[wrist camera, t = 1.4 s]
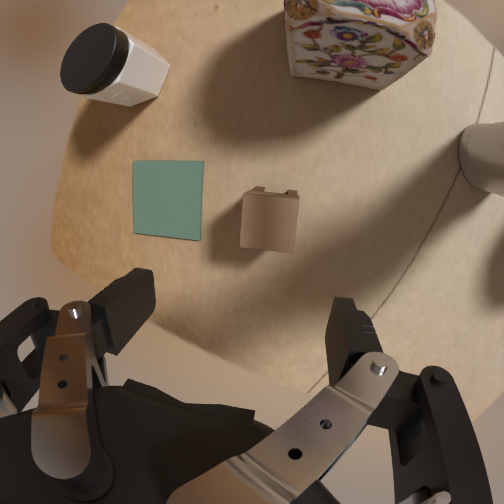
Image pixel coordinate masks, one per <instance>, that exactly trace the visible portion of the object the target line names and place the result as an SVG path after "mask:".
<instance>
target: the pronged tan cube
mask: <svg viewBox="0 0 504 504" xmlns="http://www.w3.org/2000/svg"><path fill="white" fill-rule="evenodd" d="M264 190H265V187H257V186H256V187H255V188H253V189H252V190H248V191H247V192H246V193H244V194H243V204H242V218H241V233H240V247H244V248H252V249H260V250H268V251H276V252H285V253H293V248H294V240H295V232H296V224H297V216H298V207H299V196H298V195H297V191H294V190H288V194H280V193H271V192H264Z"/></svg>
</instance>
